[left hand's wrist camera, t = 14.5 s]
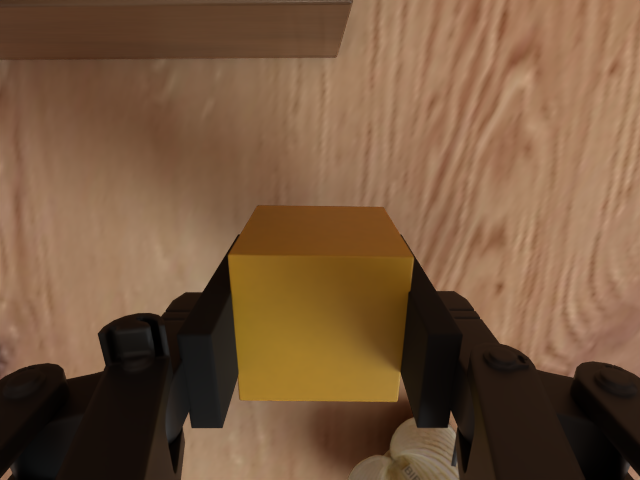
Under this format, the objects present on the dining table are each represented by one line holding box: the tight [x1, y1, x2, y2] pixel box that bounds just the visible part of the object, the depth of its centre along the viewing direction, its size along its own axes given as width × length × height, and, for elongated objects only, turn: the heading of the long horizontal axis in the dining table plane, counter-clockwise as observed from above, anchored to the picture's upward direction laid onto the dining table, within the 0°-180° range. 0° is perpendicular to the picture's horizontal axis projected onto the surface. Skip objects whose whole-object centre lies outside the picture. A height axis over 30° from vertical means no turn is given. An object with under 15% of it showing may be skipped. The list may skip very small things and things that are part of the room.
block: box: [228, 205, 414, 402], centre depth 13 cm, size 5×5×5 cm
